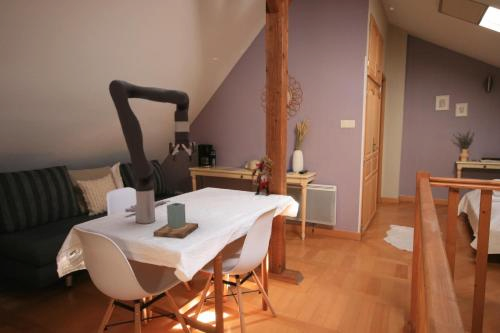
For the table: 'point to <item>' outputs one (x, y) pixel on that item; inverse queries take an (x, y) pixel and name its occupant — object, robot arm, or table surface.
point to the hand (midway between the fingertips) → (183, 162)
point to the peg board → (176, 231)
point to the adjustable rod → (132, 208)
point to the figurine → (263, 175)
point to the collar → (176, 215)
